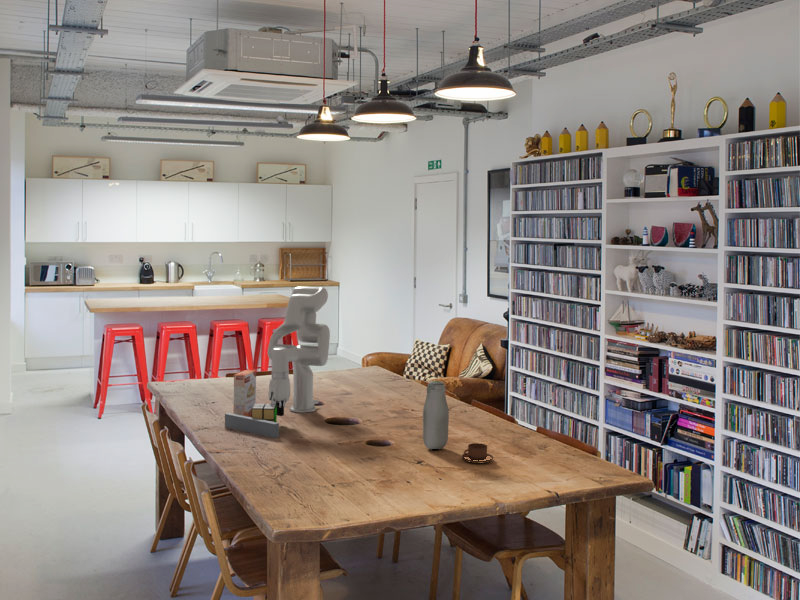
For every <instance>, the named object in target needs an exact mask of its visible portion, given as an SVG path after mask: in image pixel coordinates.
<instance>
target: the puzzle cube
mask: <svg viewBox="0 0 800 600" xmlns="http://www.w3.org/2000/svg"><path fill="white" fill-rule="evenodd" d="M250 417H252V418H257V419H262V420H266V421H271V422H276V423H278V422H277V418H278V415H277V404H271V403H256V404H254V406H253V407H252V414H251V416H250Z"/></svg>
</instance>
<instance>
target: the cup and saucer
mask: <svg viewBox="0 0 800 600" xmlns="http://www.w3.org/2000/svg"><path fill="white" fill-rule="evenodd" d="M467 447H468V448H467V449H465V450H464V451H463V454H462V455H461V459H463V460H464V461H465V460H466V461H465V462H467V461H470V462H469V463H471V462H487V461H490V462H491V461H493V458H494V456H493V455H492V454H489V453H488V445H487V444H484V443H477V442H476V443H475V442H474V443H469V444H468V445H467ZM487 456H490V457H491V458H492V459H490V460H486V461H479V460H484V459H486V457H487ZM464 457H469V458H470V459H471V460H468V459H465V458H464ZM473 460H478V461H473ZM487 463H488V462H487Z"/></svg>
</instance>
